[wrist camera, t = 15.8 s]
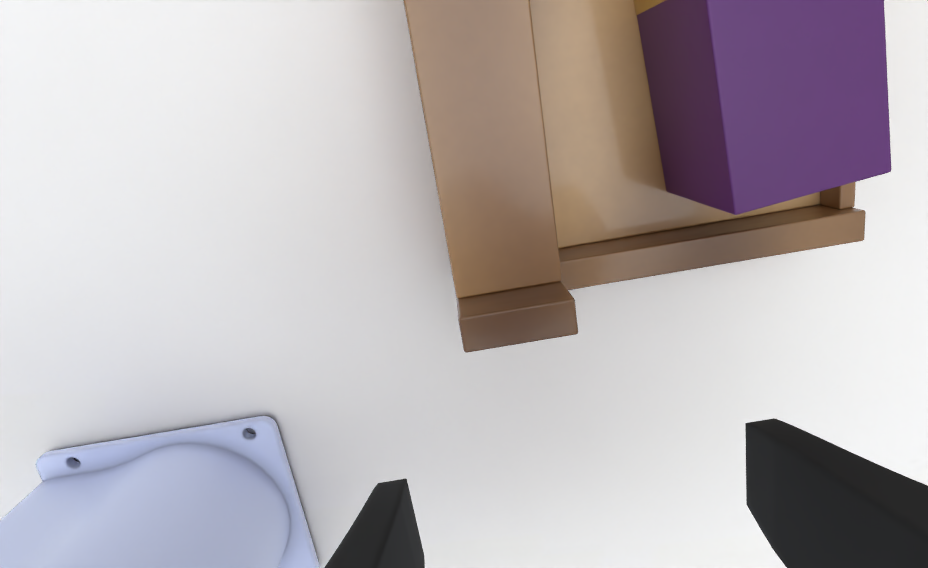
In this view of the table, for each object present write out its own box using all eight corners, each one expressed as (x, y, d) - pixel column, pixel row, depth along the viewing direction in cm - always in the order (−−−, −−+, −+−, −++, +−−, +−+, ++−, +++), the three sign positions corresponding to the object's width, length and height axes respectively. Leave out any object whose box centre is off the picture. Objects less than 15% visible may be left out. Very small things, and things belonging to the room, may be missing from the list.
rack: (458, 281, 20) (464, 353, 14) (380, -162, 16) (340, -335, 10) (805, 223, 20) (966, 270, 14) (814, -240, 16) (1047, -464, 10)
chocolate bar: (665, 192, 18) (734, 216, 14) (613, -114, 16) (679, -202, 11) (785, 158, 18) (894, 171, 14) (753, -157, 15) (875, -265, 11)
